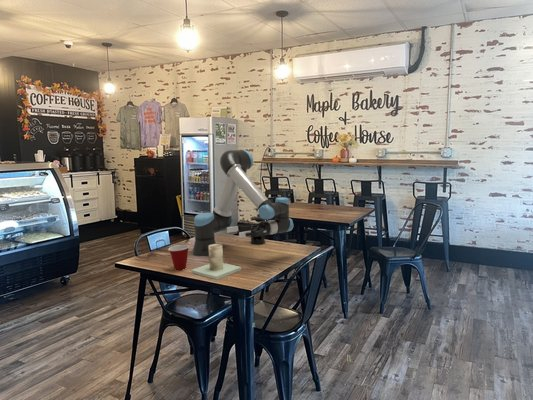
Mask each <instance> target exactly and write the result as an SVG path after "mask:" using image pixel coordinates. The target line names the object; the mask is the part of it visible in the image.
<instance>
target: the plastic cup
mask: <svg viewBox="0 0 533 400" xmlns="http://www.w3.org/2000/svg"><path fill="white" fill-rule="evenodd" d="M189 248H190V245H188V244H177V245H174V246H173V245H172V246H170V247H169V248H168V252H169V254H170V256H171V260H172V264H173V268H174V270H175V269H176V270H175V271H177V270H180V271H184V270H183V269H185V268H187V263H188V254H189ZM185 270H186V269H185Z"/></svg>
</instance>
